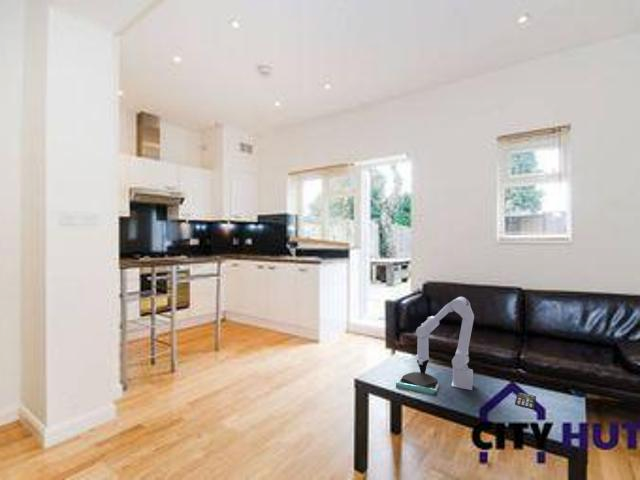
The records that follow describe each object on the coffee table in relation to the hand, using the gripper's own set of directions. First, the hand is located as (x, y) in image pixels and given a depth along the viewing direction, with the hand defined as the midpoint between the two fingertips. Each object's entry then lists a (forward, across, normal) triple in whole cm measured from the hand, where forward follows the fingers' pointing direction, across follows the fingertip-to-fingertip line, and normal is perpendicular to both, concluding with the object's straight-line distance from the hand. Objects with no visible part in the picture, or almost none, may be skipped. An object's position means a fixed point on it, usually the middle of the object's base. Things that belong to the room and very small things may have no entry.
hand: (422, 373), depth 185 cm
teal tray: (+1, +15, 0) cm, 15 cm away
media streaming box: (+2, +9, 0) cm, 10 cm away
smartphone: (+2, +7, +47) cm, 48 cm away
